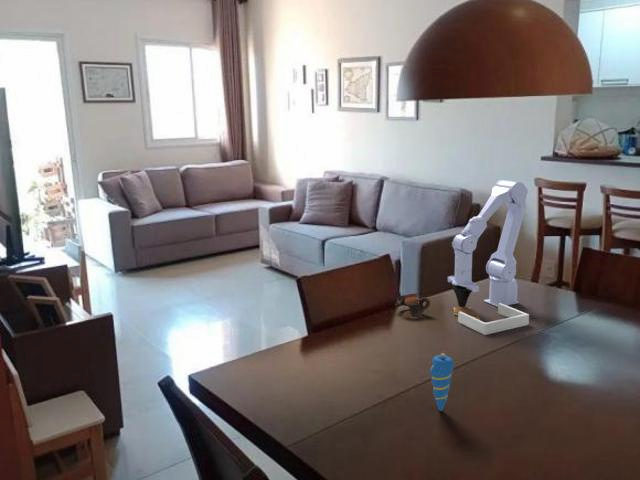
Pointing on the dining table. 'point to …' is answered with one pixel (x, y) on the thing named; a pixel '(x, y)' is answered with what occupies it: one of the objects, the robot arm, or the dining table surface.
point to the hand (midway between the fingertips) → (462, 306)
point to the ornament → (441, 378)
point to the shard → (466, 311)
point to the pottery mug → (413, 304)
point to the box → (513, 320)
